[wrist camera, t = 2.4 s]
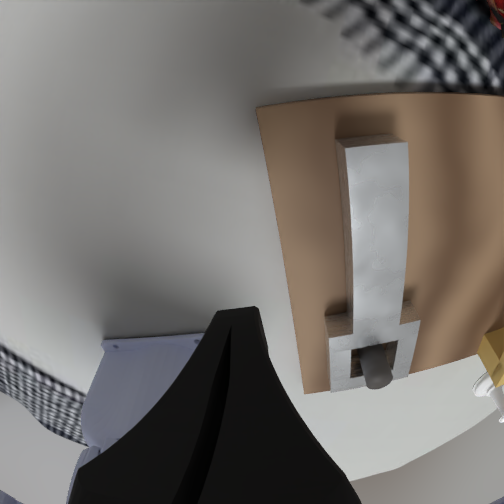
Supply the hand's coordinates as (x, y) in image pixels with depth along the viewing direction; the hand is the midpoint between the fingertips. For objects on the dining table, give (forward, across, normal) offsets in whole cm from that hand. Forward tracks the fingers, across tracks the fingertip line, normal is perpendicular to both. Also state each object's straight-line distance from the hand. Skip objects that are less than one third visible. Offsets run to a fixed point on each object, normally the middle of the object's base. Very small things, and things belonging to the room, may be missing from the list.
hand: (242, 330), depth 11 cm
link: (+8, -6, +5) cm, 11 cm away
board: (+9, -12, +5) cm, 15 cm away
